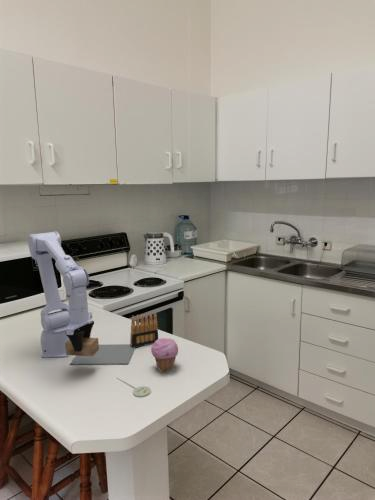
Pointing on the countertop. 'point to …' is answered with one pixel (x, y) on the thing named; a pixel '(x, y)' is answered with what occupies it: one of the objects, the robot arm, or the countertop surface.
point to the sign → (140, 390)
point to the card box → (83, 347)
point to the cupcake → (164, 353)
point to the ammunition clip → (143, 331)
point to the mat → (107, 356)
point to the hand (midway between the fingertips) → (82, 347)
